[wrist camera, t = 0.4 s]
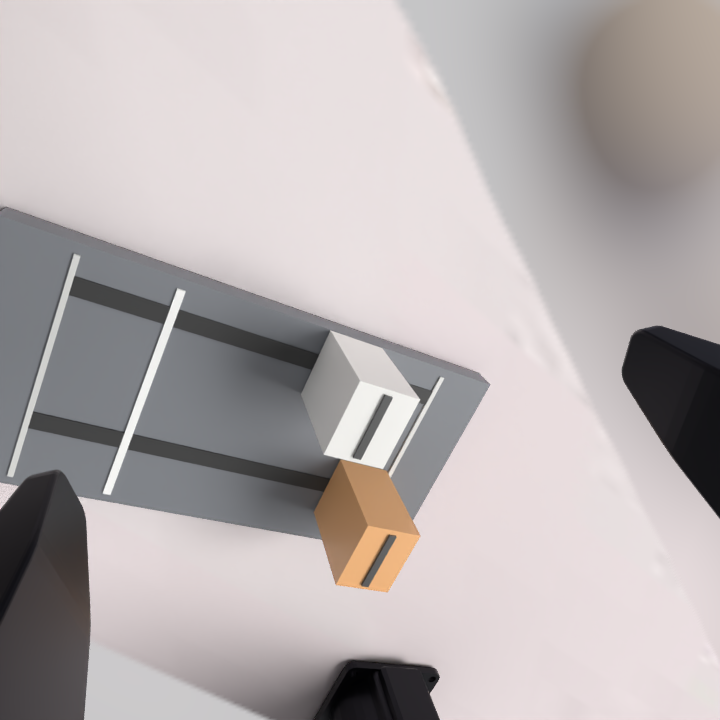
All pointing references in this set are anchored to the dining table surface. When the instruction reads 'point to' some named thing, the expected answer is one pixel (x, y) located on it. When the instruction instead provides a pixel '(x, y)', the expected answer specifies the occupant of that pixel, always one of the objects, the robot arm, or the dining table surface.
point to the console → (184, 386)
